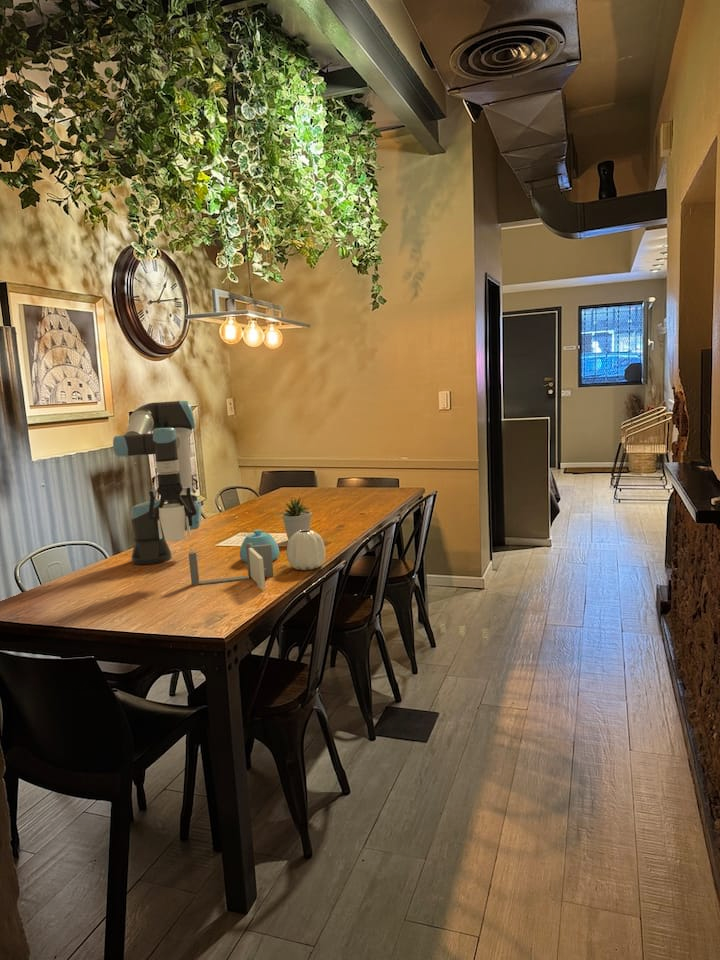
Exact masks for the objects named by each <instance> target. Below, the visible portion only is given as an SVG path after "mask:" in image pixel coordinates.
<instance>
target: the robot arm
mask: <svg viewBox="0 0 720 960" xmlns="http://www.w3.org/2000/svg"><path fill="white" fill-rule="evenodd" d="M193 413H194V412H193V410H192V405H191V403H190V402H189V401H188V400H173V401H161V402H160V401H158V402H150V403H146V404H144V405H141V406H139V407H138V408H136V409H135V410H133V412H132V413H131V414H130V415H129V418H128V426H127V427H126V429H125V432H124V434H120V435H116V436H114V437H113V438H112V439H113V440H112V447H113V452H114V455H115V456H116V457H118V458H119V457H121V458H122V457H125V458H127V457H136V456H147V455H154V457H155V470H156V473H157V475H156V477H157V489H154V490H153V489H151V490H149V498H150V499H149V501H144V502H140V503H138V504H135V505H133V506H132V507H131V510H130V515H131V516H130V519H131V524H132V526H131V527H132V532H133V533H132V534H133V549H132V551H131V552H132V553H131V557H130V558H131V563H132V564H133V565H139V566H145V565H155V564H159V563H163V562H167V561H169V560H170V559H172V551H171V549H170V546H169V545H168V543H167V542H168V541H165V538H164V534H163V530H162V526H161V522H160V518H159V508H162V507H163V505H167V504H176V503H180V505H181V506H183V505H184V510H185V513H186V522H185V532H187V537H190V536H191V531H193V530H194V531H195V530H198V529H199V528H200V526H201V520H202V501H201V500H200V499H198V496H197V495H196V494H195V493H194V492H193V491H194V490H193V489H194V488H193V478H192V467H191V466H192V465H191V463H192V462H191V452H190V437H191V435H192V434H193V430H194V429H195V428H196V422H195V419H194V414H193ZM150 432H151V433H150ZM157 494H159V495H160V497H161V499H156V496H157ZM165 502H166V503H165Z"/></svg>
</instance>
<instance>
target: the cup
mask: <svg viewBox="0 0 720 960" xmlns="http://www.w3.org/2000/svg"><path fill="white" fill-rule="evenodd" d="M159 518H160V522H161V526H162V530H163V534H164V538H165V541H166V542H168V543H169V542H170V543H171V542H172V543H173V542H180V541H183V540H185V538H186V531H185V522H186V513H185V510H184V505H183V506H181V505H180V503H176V504H167V505H163V507H162V508H159Z"/></svg>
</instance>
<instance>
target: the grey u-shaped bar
mask: <svg viewBox="0 0 720 960" xmlns="http://www.w3.org/2000/svg"><path fill="white" fill-rule="evenodd" d="M248 548H252V543H247V544H246V553H247V563H246V565H247V575H241V576H231V577H223V578H214V579H206V580H200V578H199V576H200V575H199V565H198V556H197V551H191V552H190V551H189V552H188V561H189V562H188V563H189V573H190V579H191V580H190V581H191V586H192V585H193V586H199V585H200V586H204V585H212V584H219V583H228V582H229V583H230V582H237V581H247V580H248V579H251V580H252V579H253V578H252V577H251V572H250V560H249V549H248ZM253 549H254V550H255V551H256V552H257V553H258V554H259V555H260V556H261V557H262V558H263V565H264V568H266V573H264V577H265V578H267V577H269V578H270V577H275V576H274V567H273V566H274V565H273V563H274V562H273V561H272V551H271V544H264V545H255V546H253ZM253 580H254V579H253ZM203 584H204V585H203Z"/></svg>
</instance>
